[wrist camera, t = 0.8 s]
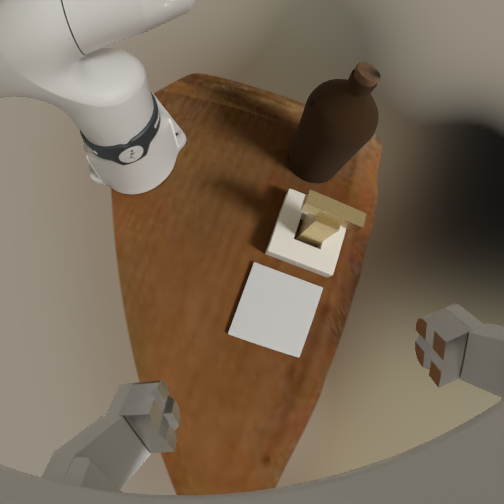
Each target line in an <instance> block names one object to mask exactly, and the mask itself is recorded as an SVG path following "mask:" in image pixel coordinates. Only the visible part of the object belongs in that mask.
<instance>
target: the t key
mask: <svg viewBox="0 0 504 504" xmlns="http://www.w3.org/2000/svg"><path fill="white" fill-rule="evenodd" d="M301 210H303V211H305V212H308V214H307V215H306V217H305V218H304V219H303V220H302V221H301V222H300V224H299V227H298V230H297V233H296V236H295V240H298V241H300V242H303V243H305V244H308V245H310V246H313V247H315V246H317V245H318V244H320V243H321V242H323V241H324V240H326V239H327V238H329V237H330V236H332V235H333V234H335V233H336V232H338V231H339V228H340V226H342V227H344V228H347V229H349V230H351V231H354V232H357V231H358V230H360V229H362V228H363V226H364V221H365V217H366V213H363V212H361V211H359V210H357V209H355V208H352V207H350V206H348V205H345V204H343V203H341V202H339V201H336V200H334V199H332V198H329V197H327V196H324V195H322V194H320V193H317V192H315V191H312V190H309V191H308V193H307V194H306V195H305V197H304V200H303V203H302V207H301Z"/></svg>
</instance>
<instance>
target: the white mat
mask: <svg viewBox="0 0 504 504" xmlns="http://www.w3.org/2000/svg"><path fill="white" fill-rule="evenodd" d="M322 290H323V287H320V286H317V285H315V284H312V283H309V282H306V281H304V280H301V279H298V278H296V277H293V276H290V275H288V274H285V273H282V272H280V271H277V270H274V269H271V268H269V267H266V266H263V265H261V264H258V263H255V262H254V263H253V266H252V269H251V272H250V274H249V277H248V280H247V283H246V285H245V288H244V291H243V293H242V296H241V299H240V302H239V304H238V307H237V310H236V313H235V315H234V318H233V321H232V323H231V326H230V329H229V332H228V334H229V335H232V336H235V337H238V338H241V339H244V340H246V341H249V342H252V343H255V344H258V345H261V346H264V347H267V348H270V349H273V350H276V351H279V352H283V353H286V354H289V355H292V356H295V357H300V354H301V351H302V349H303V346H304V343H305V340H306V337H307V335H308V332H309V329H310V326H311V323H312V320H313V317H314V314H315V311H316V308H317V305H318V302H319V299H320V296H321V293H322Z"/></svg>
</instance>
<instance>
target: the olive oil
mask: <svg viewBox="0 0 504 504" xmlns="http://www.w3.org/2000/svg"><path fill="white" fill-rule="evenodd" d="M379 79H380V73H379V72H378V70H377V69H376V68H375V67H373V66H372V65H370V64H368V63H363V62H362V63H359V64H357V66H356V68H355V69H354V70H353V71H352V73H351V75H350V77H349V79H348V80H344V79H334V80H329V81H327V82H324V83H322V84H321V85H319V86H318V87H317V88H316V89H315V90H314V91H313V92H312V93H311V94H310V96H309V97H308V100H307V102H306V105H305V108H304V111H303V114H302V117H301V120H300V123H299V126H298V129H297V132H296V135H295V138H294V140H293V143H292V145H291V148H290V151H289V163H290V165H291V167H292V169H293V171H294V172H295V173H296V174H297V175H298V176H299V177H300V178H302V179H304V180H306V181H308V182H312V183H323V182H326V181H328V180H330V179H331V178H332V177H333V176H334V175H335V174H336V173H337V172H338V171H339V170H340V169H341V168H342V167H343V166H344V165H345V164H346V163H347V162H348V161H349V160H350V159H351V158H352V157H353V156H354V155H355V154H356V153H357V152H358V151H359V150H360V149H361V148H362V147H363V146H364V145H365V144H366V143H367V142H368V141H369V140H370V139H371V138H372V136H373V135H374V133H375V130H376V127H377V124H378V109H377V106H376V103H375V101H374V99H373V97H372V96H371V92H372V91H373V90H374V88H375V87H376V85H377V82H378V81H379Z"/></svg>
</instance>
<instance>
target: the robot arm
mask: <svg viewBox="0 0 504 504" xmlns="http://www.w3.org/2000/svg"><path fill="white" fill-rule="evenodd" d="M195 2H196V0H2V1H0V98H2V97H14V96H15V97H28V98H33V99H38V100H41V101H45V102H47V103H50V104H53V105H55V106H57V107H59V108H60V109H62V110H63V111H64V112H65V113H66V114H67V115H68V116H69V117H70V118H71V119H72V120H73V122H74V123H75V124H76V125H77V127H78V128H79V129H80V133H81V135H82V138H83V141H84V143H85V145H84V149H85V151H86V152H87V155H86V159H87V161H88V162H89V164H90V178H91V180H92V181H93V182H94V183H97V184H105V185H108V186H109V187H111V188H112V189H114V190H115V191H118V192H120V193H124V194H139V193H143V192H146V191H149V190H151V189H153V188H155V187H156V186H158V185H159V184H160V183H162V182H163V181H164V180H165V179H166V178H167V176H168V175H169V174H170V172H171V171H172V169H173V167H174V164H175V161H176V158H177V155H178V152H179V151H180V150H181V149H182V147H183V146H184V145H185V143H186V141H187V138H186V136H185V134H184V133H183V131H182V130H181V129H180V128H179V126H178V125H177V124H176V122H175V121H174V120H173V118H172V117H171V116H170V115H169V113H168V112H167V111H166V109H165V108H164V107H163V106H162V104H161V103H160V102H159V100H158V99H157V98H156V97H155V95H154V94H153V93H152V92H151V91H150V87H149V84H148V80H147V76H146V72H145V69H144V66H143V65H142V63H141V62H140V61H139V60H138V59H137V58H136V57H135V56H133V55H131V54H130V53H128V52H126V51H123V50H120V49H112V48H103V47H105V46H108V45H110V44H113V43H115V42H118V41H121V40H124V39H126V38H129V37H132V36H135V35H137V34H141V33H144V32H147V31H149V30H151V29H153V28H155V27H157V26H160V25H162V24H164V23H166V22H168V21H170V20H173V19H175V18H177V17H179V16H181V15H183V14H186V13H187V12H188V11H189V10H190V9H191V7H192V6H193V5H194V3H195ZM175 134H178V135H177V136H176V135H175ZM416 331H417V332H418V333H419V334H420V335H419V336H418V338H417V340H416V341H415V350H416V355H417V358H418V360H419V362H420V364H421V365H422V367H424V368H427V369H430V373H429V376H430V377H431V378H432V380H433V381H434V382H435V383H436V385H437V386H438V387H441V386H443V385H446V384H448V383H450V382H452V381H454V380H456V379H459V378H460V379H461V380H463V381H465V382H468V383H470V384H472V385H474V386H477V387H479V388H481V389H483V390H486V391H488V392H490V393H493V394H495V395H497V396H500V397H502V399H501V401H500V402H498V403H497V404H495V405H494V406H492V407H490V408H489V409H487V410H486V411H484V412H482V413H481V414H479V415H477V416H475V417H474V418H472V419H470V420H469V421H467V422H465V423H463V424H462V425H459V426H458V427H456V428H454V429H452V430H450V431H448V432H446V433H444V434H442V435H440V436H438V437H436V438H434V439H432V440H430V441H428V442H425V443H423V444H421V445H419V446H416V447H414V448H412V449H409V450H407V451H405V452H402V453H400V454H397V455H395V456H392V457H389V458H387V459H384V460H381V461H379V462H376V463H373V464H370V465H367V466H364V467H361V468H358V469H354V470H351V471H348V472H344V473H341V474H337V475H334V476H330V477H326V478H322V479H318V480H313V481H309V482H304V483H299V484H294V485H289V486H283V487H278V488H271V489H265V490H257V491H249V492H240V493H229V494H215V495H147V494H133V493H123V492H122V491H121V490H120V489H121V488H122V487H123V486H124V485H125V483H126V482H127V481H128V480H129V479H130V478H131V477H132V475H133V474H134V473H135V472H136V471H137V470H138V468H139V467H140V466H141V465H142V464H143V463H144V461H145V460H146V459H147V458H148V457H149V455H150V453H159V452H174V451H175V445H176V440H177V435H176V433H175V432H174V431H175V430H176V429H177V428H178V427H179V424H180V411H179V408H178V405H177V403H176V401H175V399H173V398H172V397H170V396H168V393H169V388H168V386H167V385H166V383H165V382H164V381H151V382H138V383H128V384H121V385H120V386H119V388H118V389H117V392H116V394H115V396H114V398H113V400H112V402H111V405H110V407H109V409H108V411H107V413H106V416H101V417H100V418H99V419H97V420H96V421H95V422H94V423H92V424H91V425H90V426H88V427H87V428H86V429H84V430H83V431H82V432H80V433H79V434H78V435H76V436H75V437H74V438H72V439H71V440H70V441H68V442H67V443H66V444H64V445H63V446H61V447H60V448H59V449H57V450H56V451H55V452H54V453H53V455H52V457H51V459H50V461H49V463H48V465H47V467H46V469H45V471H44V474H43V475H42V478H41V477H38V476H34V475H31V474H27V473H24V472H21V471H18V470H15V469H12V468H8V467H6V466H3V465H0V504H504V326H499V325H493V324H488V323H487V324H485V325H483V324H482V323H481V322H480V321H479V320H477V319H476V318H475V317H474V316H472V315H471V314H470V313H468V312H467V311H466V310H465V309H463V308H462V307H461V306H460V305H458V304H453V305H450V306H449V307H446V308H444V309H442V310H440V311H437V312H435V313H432V314H430V315H427V316H425V317H422V318H420V319H418V321H417V324H416Z"/></svg>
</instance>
